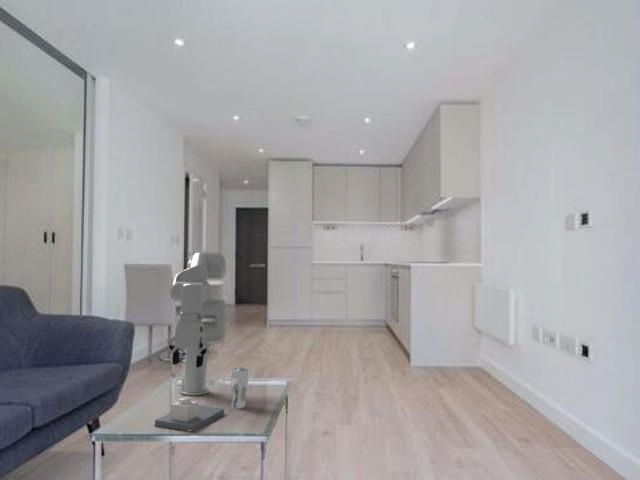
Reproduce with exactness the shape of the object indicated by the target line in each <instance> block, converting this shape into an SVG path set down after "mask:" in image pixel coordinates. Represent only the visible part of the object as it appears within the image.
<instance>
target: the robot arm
mask: <svg viewBox="0 0 640 480" xmlns="http://www.w3.org/2000/svg"><path fill="white" fill-rule="evenodd" d="M226 271H227V264H226V258H225V255H224V254H222V253H220V252H211V251H210V252H209V251H199V252H195V253H194V254H192V256H191V258H190V260H188V262H187V263H186V269H184V270H182V271H180V272H178V273H177V274H176V275H175V276H174V278H173V279H172V280H173V281H172V283H171V286H170V291H169V292H170V299H172V301H175V302H180V306H179V307H180V308H179V320H178V321H177V325H176V327H175V328H176V329H175V333H174V336H173V337H171V338H169V339H167V341H166V343H167V344H168V348H169V350H170V351H171V352H170V353H172V358H171V361H172V365H173V366H175V365H177V364H180V357H181V353H180V350H185V351H186V352H185V366H184V367H185V368H184V378H183V380H177V381H178V382H177V384H176V386H178V387H180V390H179V393H180V394H181V395H185V396H200V395H201V396H202V395H206V394H208V393H209V392H210V389H209V387H206V386H207V385H206V384H207V370H208V369H207V368H208V356H209V355H208V354H209V353H208V351H209V350H210V347H211V346H212V344H217V343H222V342H224V339H225V336H226V322H227V320H226V319H227V304H226V301H225V299H223V298H218V297H211V295H212V294H211V291H212V288H211V285H210V283H209V282H208V279H212V280H213V279H217V280H220V279H223V278H224V277H225V275H226V273H227V272H226ZM204 319H207V320H209V319H210V320H212V319H213V320H215V321H202V320H204ZM211 343H212V344H211Z"/></svg>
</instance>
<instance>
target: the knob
mask: <svg viewBox="0 0 640 480" xmlns="http://www.w3.org/2000/svg"><path fill="white" fill-rule="evenodd" d="M198 403H199V401H196V400H195V401H194V400H192V398H191V397H185V396H184V397H180V398H178V401H175V402H173V403H171V404H170V413H171V415H170V419H171V420H178V421H184V422H187V421H189V420H191V419H193V418H195V417H197V407H198V405H199V404H198Z"/></svg>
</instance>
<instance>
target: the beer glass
mask: <svg viewBox="0 0 640 480" xmlns="http://www.w3.org/2000/svg"><path fill="white" fill-rule="evenodd" d="M231 371H232V372H231V379H230V386H231V393H232V394H231V398H232V399H231V403H230V407H231V408H232V409H235V410H242V409H245V408H246V407H247V405H246V404H247V403H246V396H247V391H248V386H249V368H246V367H234V368H232V370H231ZM244 407H245V408H244ZM241 408H242V409H241Z"/></svg>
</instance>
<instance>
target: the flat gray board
mask: <svg viewBox="0 0 640 480" xmlns="http://www.w3.org/2000/svg"><path fill="white" fill-rule="evenodd" d="M170 415H171V412H169V413H168V414H166V415H163V416H161V417H158V418H156V419H155V420H154V427H159V428H166V429H172V430H177V429H181V430H180V431H183V430H191V431H193V432H195V431H196V430H199V429H200V428H202V427H204V426H206V425H208V424H209V423H211V422H212V421H215V420H216V419H218V418H220V417H222V416H223V415H225V408H222V407H215V406H208V405H200V404H198V407H197V417H195V418H193V419H191V420H189V421H187V422H184V421H178V420H171V419H170ZM194 430H195V431H194Z"/></svg>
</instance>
